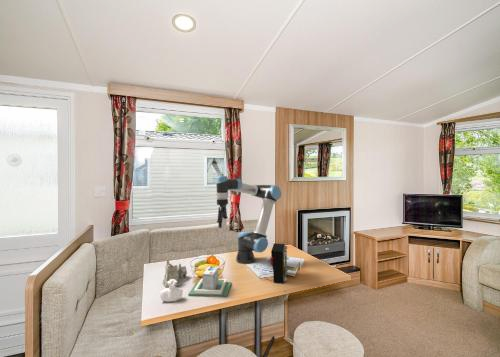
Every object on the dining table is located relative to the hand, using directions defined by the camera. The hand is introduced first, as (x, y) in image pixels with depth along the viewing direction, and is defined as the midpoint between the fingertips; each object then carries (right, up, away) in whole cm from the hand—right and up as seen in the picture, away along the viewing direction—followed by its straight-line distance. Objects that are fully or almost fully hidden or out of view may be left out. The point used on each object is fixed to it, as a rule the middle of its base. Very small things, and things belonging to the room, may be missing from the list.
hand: (222, 230), depth 151 cm
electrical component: (+38, -32, -1) cm, 50 cm away
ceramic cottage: (-30, -32, -6) cm, 44 cm away
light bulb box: (-5, -31, -17) cm, 36 cm away
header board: (-5, -32, -17) cm, 36 cm away
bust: (-25, -32, -27) cm, 49 cm away
